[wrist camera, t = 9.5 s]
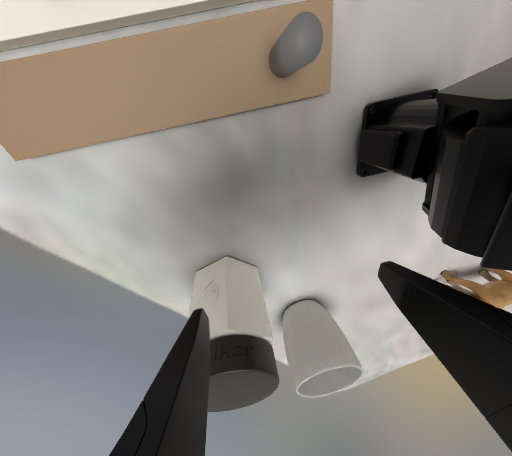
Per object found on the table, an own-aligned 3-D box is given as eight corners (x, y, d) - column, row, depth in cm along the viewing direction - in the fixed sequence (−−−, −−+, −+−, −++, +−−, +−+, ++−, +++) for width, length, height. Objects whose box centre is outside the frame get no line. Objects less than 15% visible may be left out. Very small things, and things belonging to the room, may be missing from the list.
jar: (241, 245, 22) (256, 355, 12) (269, 283, 27) (298, 387, 16) (180, 277, 23) (148, 401, 13) (216, 308, 28) (213, 420, 18)
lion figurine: (515, 246, 31) (609, 289, 24) (501, 267, 34) (581, 312, 26) (430, 274, 32) (495, 324, 24) (423, 292, 34) (480, 343, 27)
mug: (265, 317, 31) (281, 393, 22) (306, 286, 28) (341, 359, 20) (310, 336, 37) (335, 402, 28) (347, 312, 34) (387, 377, 26)
